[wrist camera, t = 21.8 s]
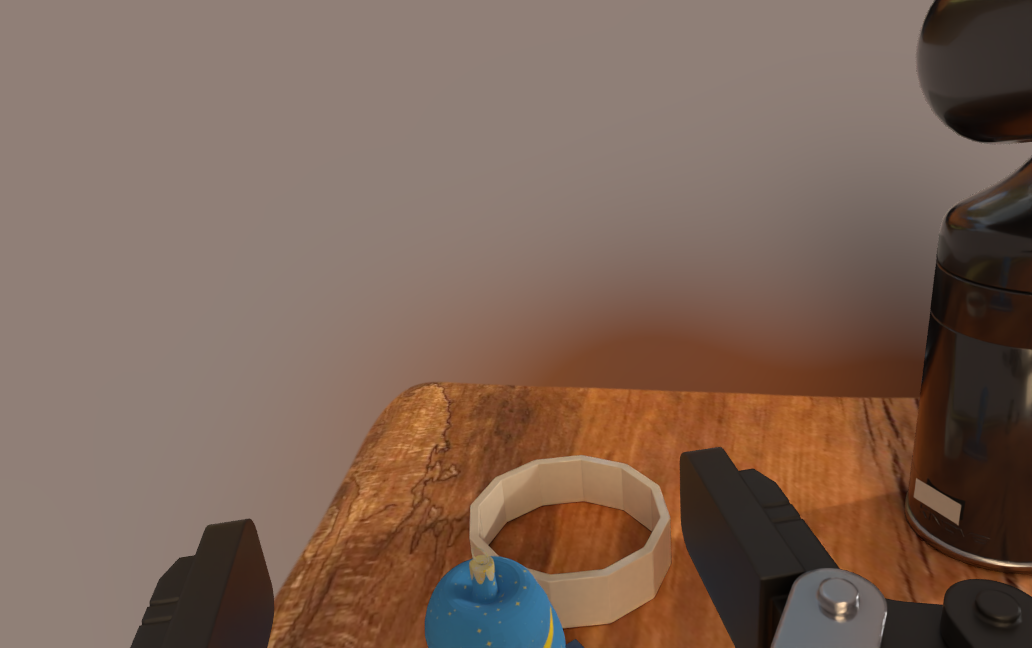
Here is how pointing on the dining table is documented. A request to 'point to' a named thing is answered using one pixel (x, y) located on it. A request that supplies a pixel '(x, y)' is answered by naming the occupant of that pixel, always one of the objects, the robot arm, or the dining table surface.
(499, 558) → the ornament
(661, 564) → the faceted beige ring
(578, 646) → the cloth
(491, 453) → the dining table surface
